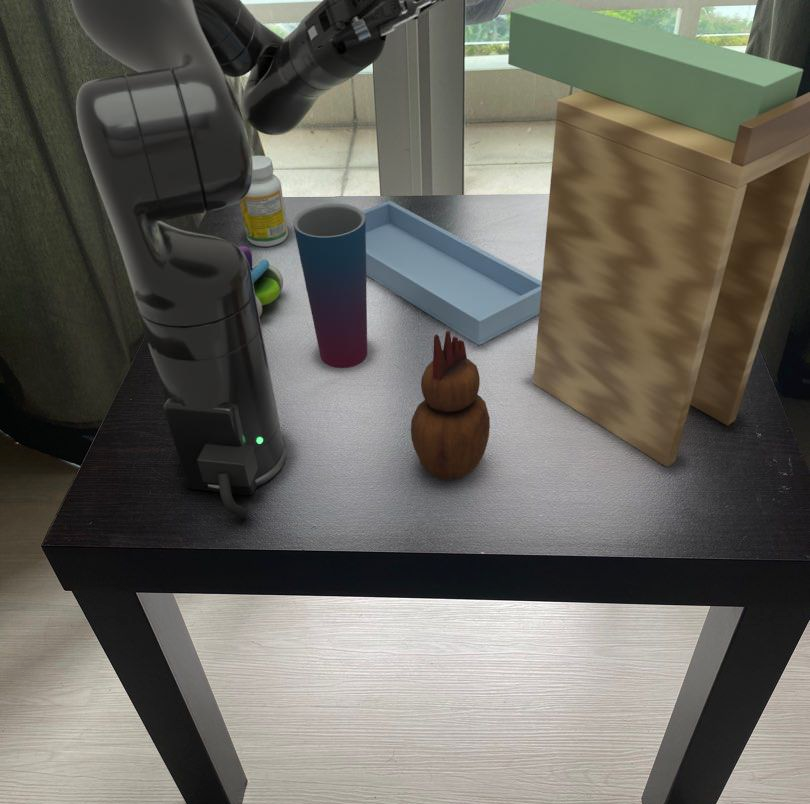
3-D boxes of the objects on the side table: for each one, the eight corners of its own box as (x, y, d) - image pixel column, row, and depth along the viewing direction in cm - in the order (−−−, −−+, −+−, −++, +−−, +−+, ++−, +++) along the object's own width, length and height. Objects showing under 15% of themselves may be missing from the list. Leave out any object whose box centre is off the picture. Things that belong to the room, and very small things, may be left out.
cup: (367, 375, 87) (355, 239, 76) (304, 370, 88) (283, 234, 78) (382, 339, 92) (372, 205, 81) (321, 334, 93) (304, 201, 82)
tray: (325, 249, 106) (322, 227, 104) (390, 222, 110) (389, 200, 108) (478, 345, 90) (479, 321, 88) (547, 309, 95) (550, 285, 92)
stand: (532, 383, 85) (560, 64, 64) (600, 345, 89) (647, 33, 68) (667, 468, 76) (752, 128, 55) (735, 420, 80) (839, 87, 59)
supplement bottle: (283, 248, 106) (271, 172, 99) (242, 247, 107) (227, 171, 100) (292, 228, 110) (282, 153, 103) (253, 226, 111) (239, 152, 104)
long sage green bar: (507, 64, 71) (510, 10, 69) (544, 51, 73) (548, -2, 70) (749, 148, 58) (765, 86, 55) (787, 130, 60) (804, 69, 57)
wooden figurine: (434, 499, 74) (432, 356, 64) (403, 461, 78) (395, 320, 67) (499, 471, 77) (507, 328, 66) (465, 436, 80) (467, 295, 69)
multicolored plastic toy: (224, 280, 102) (212, 222, 96) (296, 293, 99) (288, 234, 94) (188, 317, 96) (172, 258, 91) (263, 332, 94) (251, 272, 88)
